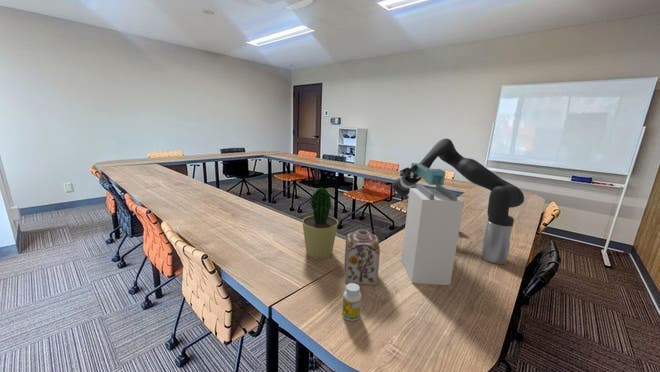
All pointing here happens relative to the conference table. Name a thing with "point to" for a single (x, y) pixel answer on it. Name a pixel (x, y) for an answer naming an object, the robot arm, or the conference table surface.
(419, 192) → the tall white pedestal box
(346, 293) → the supplement bottle
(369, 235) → the decorative jar
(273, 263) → the conference table surface
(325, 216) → the potted cactus
